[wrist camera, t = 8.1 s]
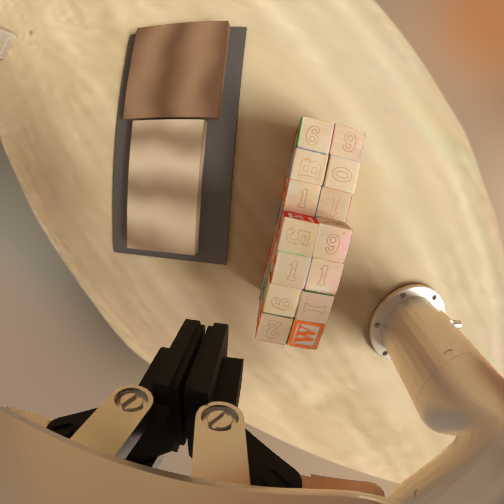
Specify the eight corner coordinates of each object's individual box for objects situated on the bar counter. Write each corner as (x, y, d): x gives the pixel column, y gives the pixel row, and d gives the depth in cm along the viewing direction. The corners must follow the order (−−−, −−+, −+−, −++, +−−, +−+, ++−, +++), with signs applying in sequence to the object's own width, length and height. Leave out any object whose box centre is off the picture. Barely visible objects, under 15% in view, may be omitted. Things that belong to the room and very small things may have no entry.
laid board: (230, 27, 30) (228, 21, 28) (220, 120, 34) (216, 117, 32) (143, 33, 31) (137, 28, 29) (130, 120, 34) (123, 119, 32)
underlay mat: (246, 28, 30) (246, 27, 30) (226, 263, 39) (225, 264, 39) (131, 36, 31) (130, 34, 31) (115, 250, 40) (113, 251, 39)
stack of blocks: (295, 126, 34) (306, 107, 22) (345, 139, 34) (378, 128, 22) (260, 290, 40) (253, 341, 28) (305, 300, 40) (316, 352, 28)
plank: (139, 122, 34) (132, 120, 32) (207, 122, 34) (203, 119, 32) (133, 244, 38) (127, 247, 36) (198, 251, 38) (194, 255, 36)
